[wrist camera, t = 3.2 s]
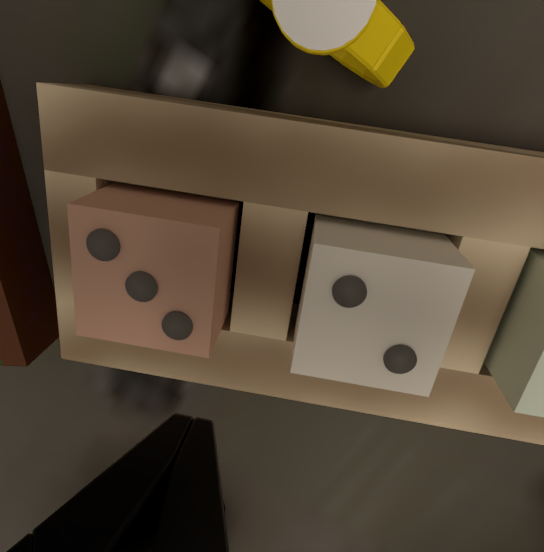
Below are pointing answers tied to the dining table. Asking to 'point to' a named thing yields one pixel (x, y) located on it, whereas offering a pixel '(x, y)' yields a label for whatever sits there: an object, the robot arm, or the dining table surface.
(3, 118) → the hardcover book
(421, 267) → the tile two
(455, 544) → the dining table surface
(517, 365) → the tile one
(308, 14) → the watch
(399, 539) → the dining table surface
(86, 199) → the tile three
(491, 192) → the board
